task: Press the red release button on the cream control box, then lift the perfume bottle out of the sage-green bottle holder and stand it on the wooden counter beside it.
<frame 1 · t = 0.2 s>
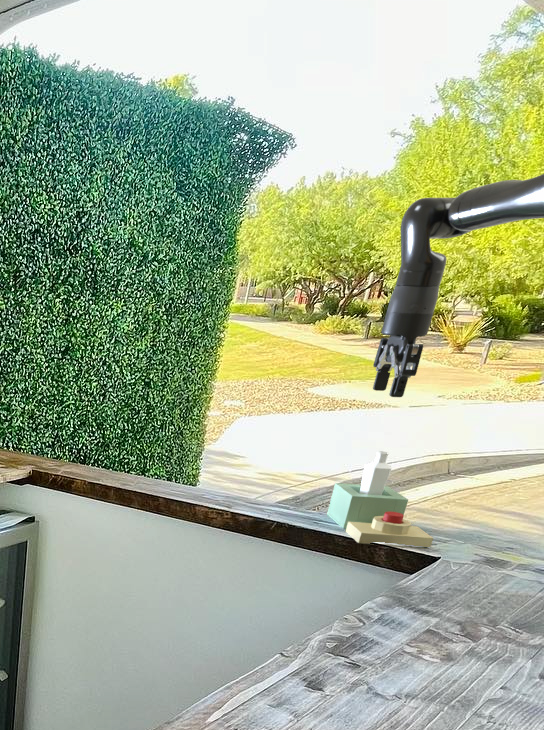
hand: (387, 393, 157), 25 cm above the countertop, tool pointing down, fingers open, 8 cm apart
release button: (393, 518, 147), point 4 cm above the countertop, slide at 0.1 cm
perfume bottle: (361, 524, 158), resting in bottle holder
bottle holder: (361, 523, 158), on the countertop
control box: (386, 540, 148), on the countertop
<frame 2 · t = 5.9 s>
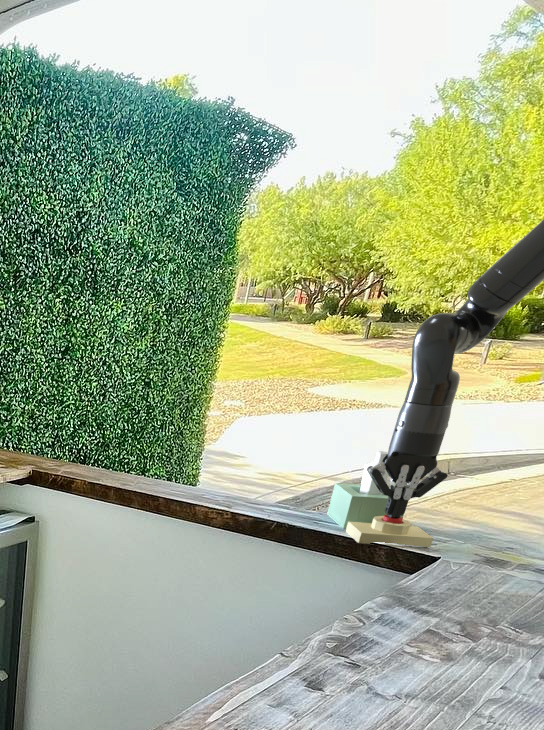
hand: (392, 516, 147), 5 cm above the countertop, tool pointing down, fingers closed
release button: (392, 521, 147), point 4 cm above the countertop, slide at -0.5 cm, touching gripper
everything else where it was.
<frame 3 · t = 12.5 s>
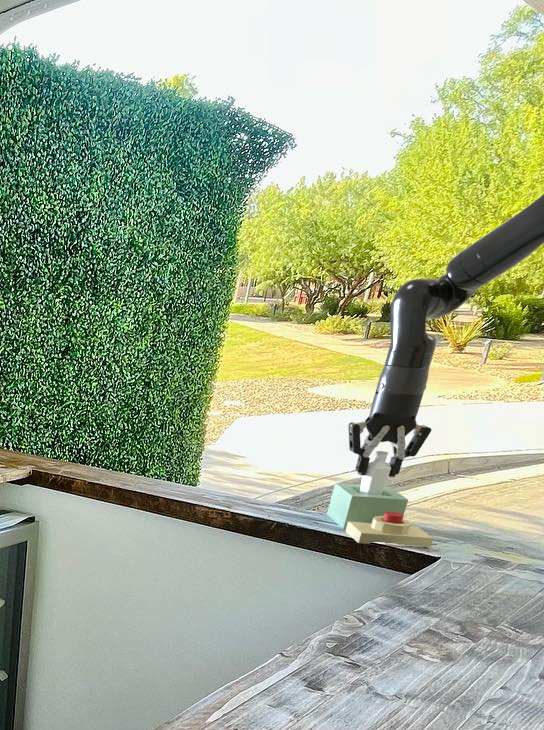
hand: (375, 475, 154), 10 cm above the countertop, tool pointing down, fingers closed on perfume bottle, 4 cm apart
release button: (393, 518, 147), point 4 cm above the countertop, slide at 0.1 cm
perfume bottle: (361, 524, 158), resting in bottle holder, touching gripper
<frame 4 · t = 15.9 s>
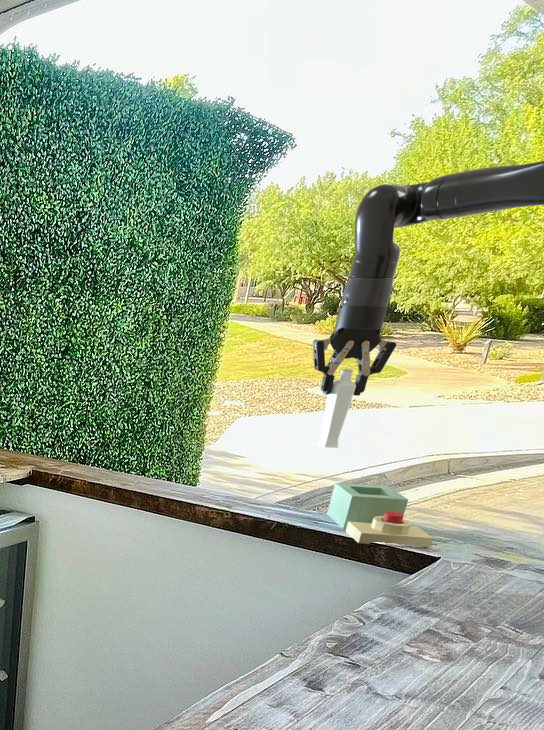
hand: (340, 394, 151), 26 cm above the countertop, tool pointing down, fingers closed on perfume bottle, 4 cm apart
perfume bottle: (326, 446, 155), point 15 cm above the countertop, touching gripper
everything else where it was.
when the fingers open (10 cm above the countertop, at t = 19.7 s): perfume bottle stays where it is, on the countertop.
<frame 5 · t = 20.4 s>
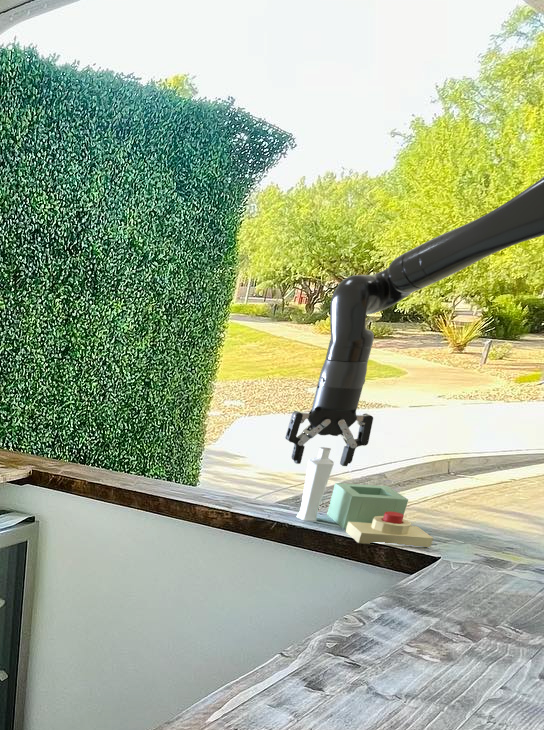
hand: (319, 464, 156), 12 cm above the countertop, tool pointing down, fingers open, 8 cm apart
perfume bottle: (306, 519, 161), on the countertop
everything else where it was.
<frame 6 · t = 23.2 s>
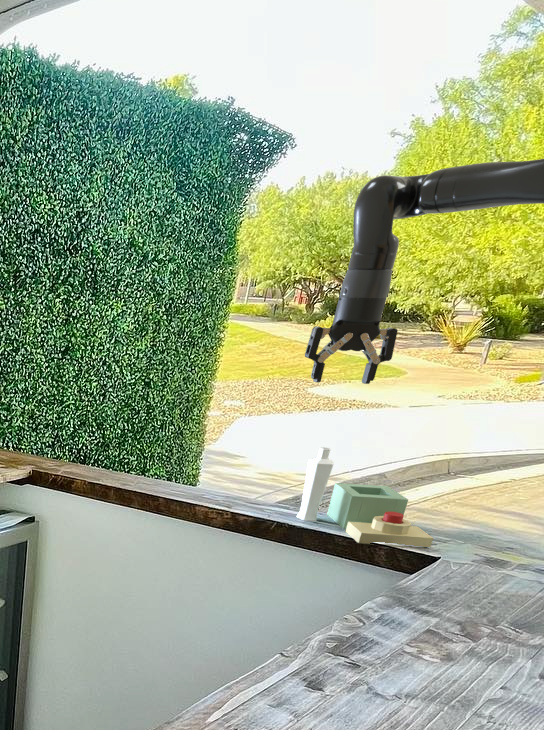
hand: (340, 382, 150), 28 cm above the countertop, tool pointing down, fingers open, 8 cm apart
nothing on the countertop moved.
at the end: release button pushed in 1.1 cm at the most during the clip, back to where it started at the end; perfume bottle inside the target area (0.1 cm from its centre), on the countertop; perfume bottle tilted 0° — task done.
